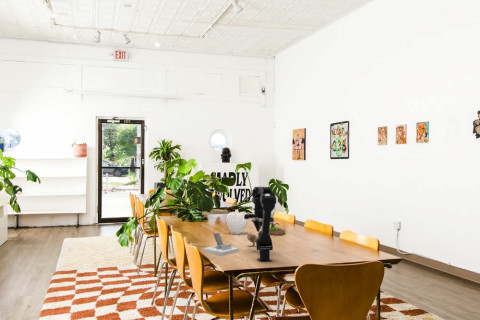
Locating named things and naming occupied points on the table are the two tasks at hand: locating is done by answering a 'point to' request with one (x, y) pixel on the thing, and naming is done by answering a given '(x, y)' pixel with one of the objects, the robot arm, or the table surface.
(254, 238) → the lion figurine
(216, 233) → the lever
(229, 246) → the switch plate
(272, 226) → the plant
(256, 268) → the table surface
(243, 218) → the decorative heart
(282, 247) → the table surface
